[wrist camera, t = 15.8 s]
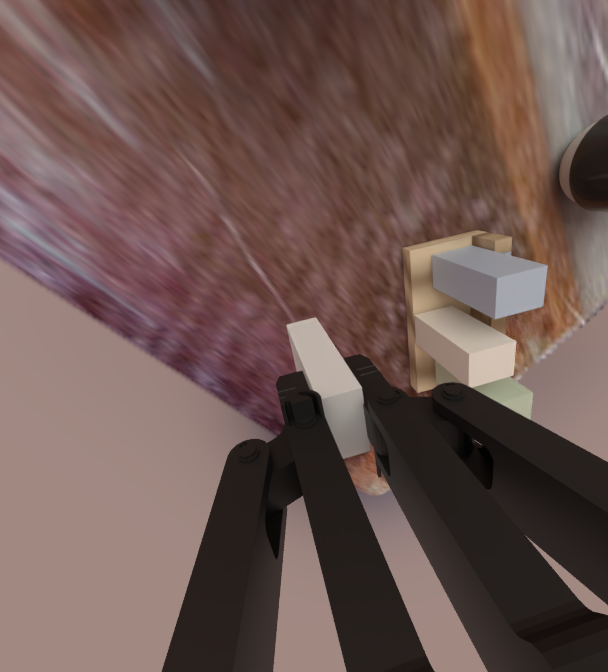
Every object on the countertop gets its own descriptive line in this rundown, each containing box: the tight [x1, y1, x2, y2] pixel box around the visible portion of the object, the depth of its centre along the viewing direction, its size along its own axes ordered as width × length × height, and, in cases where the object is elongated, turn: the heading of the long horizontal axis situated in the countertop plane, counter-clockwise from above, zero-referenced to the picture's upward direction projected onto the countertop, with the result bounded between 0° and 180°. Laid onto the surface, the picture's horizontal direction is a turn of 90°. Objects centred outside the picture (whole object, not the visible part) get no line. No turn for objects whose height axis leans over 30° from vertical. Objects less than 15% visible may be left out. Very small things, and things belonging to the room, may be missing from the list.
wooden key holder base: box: [402, 230, 512, 393], centre depth 44 cm, size 20×10×6 cm, turn 12°
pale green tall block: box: [435, 360, 533, 419], centre depth 43 cm, size 4×5×11 cm
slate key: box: [432, 245, 548, 319], centre depth 37 cm, size 4×5×11 cm
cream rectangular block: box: [415, 306, 516, 388], centre depth 40 cm, size 4×5×11 cm
